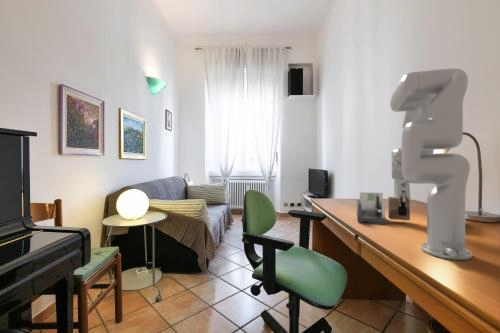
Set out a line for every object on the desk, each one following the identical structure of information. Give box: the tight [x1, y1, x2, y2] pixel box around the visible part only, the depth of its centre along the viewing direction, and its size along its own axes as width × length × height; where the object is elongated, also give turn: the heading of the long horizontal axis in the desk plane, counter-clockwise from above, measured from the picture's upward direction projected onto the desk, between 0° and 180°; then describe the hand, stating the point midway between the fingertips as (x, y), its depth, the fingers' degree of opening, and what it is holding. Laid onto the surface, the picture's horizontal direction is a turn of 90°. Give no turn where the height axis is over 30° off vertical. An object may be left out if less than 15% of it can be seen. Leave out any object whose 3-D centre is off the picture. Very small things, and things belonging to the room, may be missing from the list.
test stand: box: [356, 191, 387, 225], centre depth 120 cm, size 12×12×13 cm
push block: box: [387, 196, 411, 221], centre depth 116 cm, size 4×8×10 cm, turn 69°
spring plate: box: [377, 203, 386, 218], centre depth 119 cm, size 8×3×6 cm, turn 159°
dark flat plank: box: [377, 196, 379, 217], centre depth 122 cm, size 2×1×10 cm, turn 159°
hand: (401, 213), depth 115 cm, fingers closed on push block, 4 cm apart
